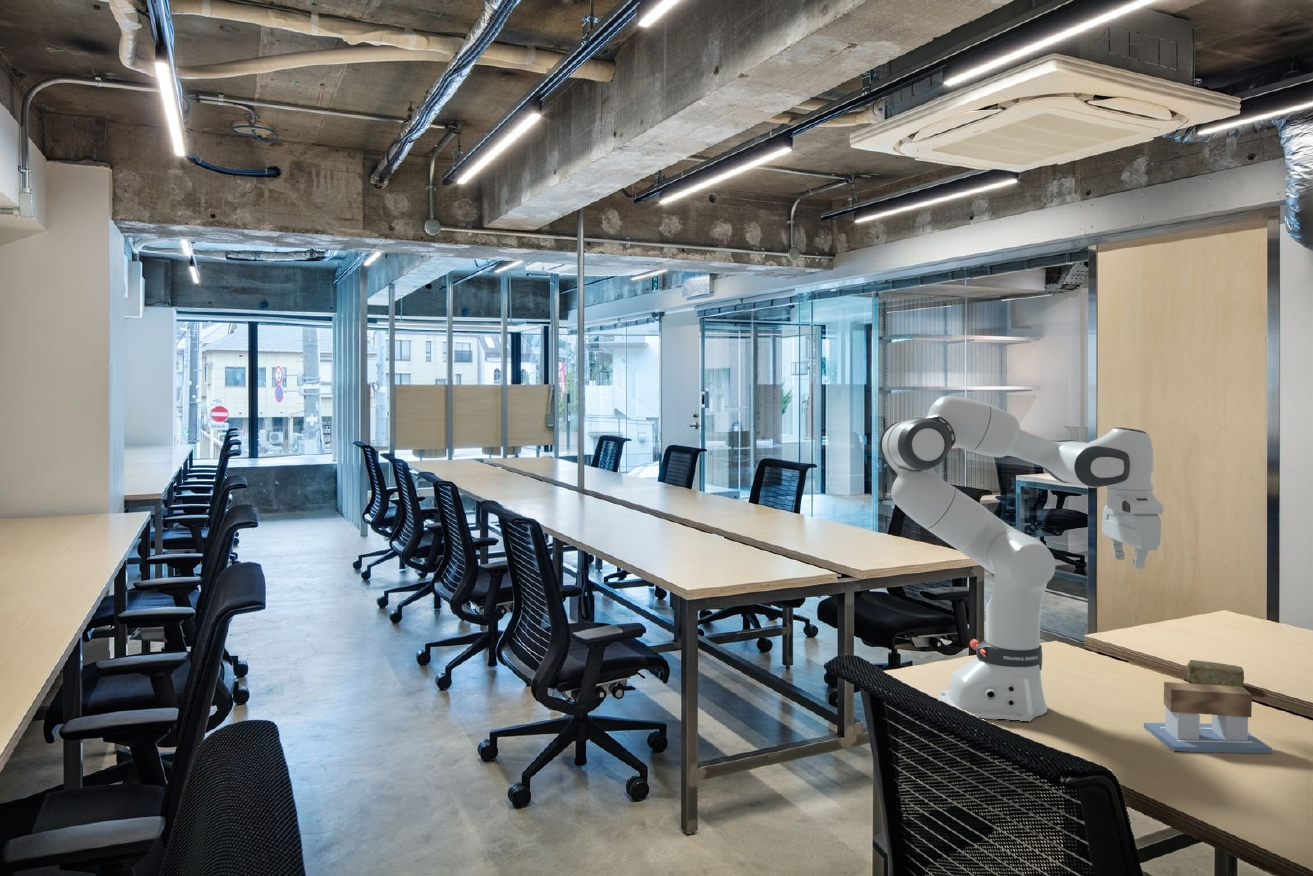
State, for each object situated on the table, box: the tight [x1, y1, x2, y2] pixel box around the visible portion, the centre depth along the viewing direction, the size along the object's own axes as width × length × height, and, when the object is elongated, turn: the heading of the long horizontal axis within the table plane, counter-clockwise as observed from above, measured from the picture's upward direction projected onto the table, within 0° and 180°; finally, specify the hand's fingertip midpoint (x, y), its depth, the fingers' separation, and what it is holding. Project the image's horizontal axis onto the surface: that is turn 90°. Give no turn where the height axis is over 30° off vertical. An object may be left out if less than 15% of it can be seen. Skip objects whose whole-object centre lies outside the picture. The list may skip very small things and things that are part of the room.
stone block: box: [1185, 659, 1245, 688], centre depth 205 cm, size 6×12×5 cm, turn 58°
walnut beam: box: [1163, 681, 1253, 718], centre depth 173 cm, size 14×4×4 cm, turn 76°
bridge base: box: [1143, 706, 1273, 754], centre depth 174 cm, size 18×12×6 cm, turn 85°
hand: (1128, 563), depth 193 cm, fingers open, 8 cm apart
